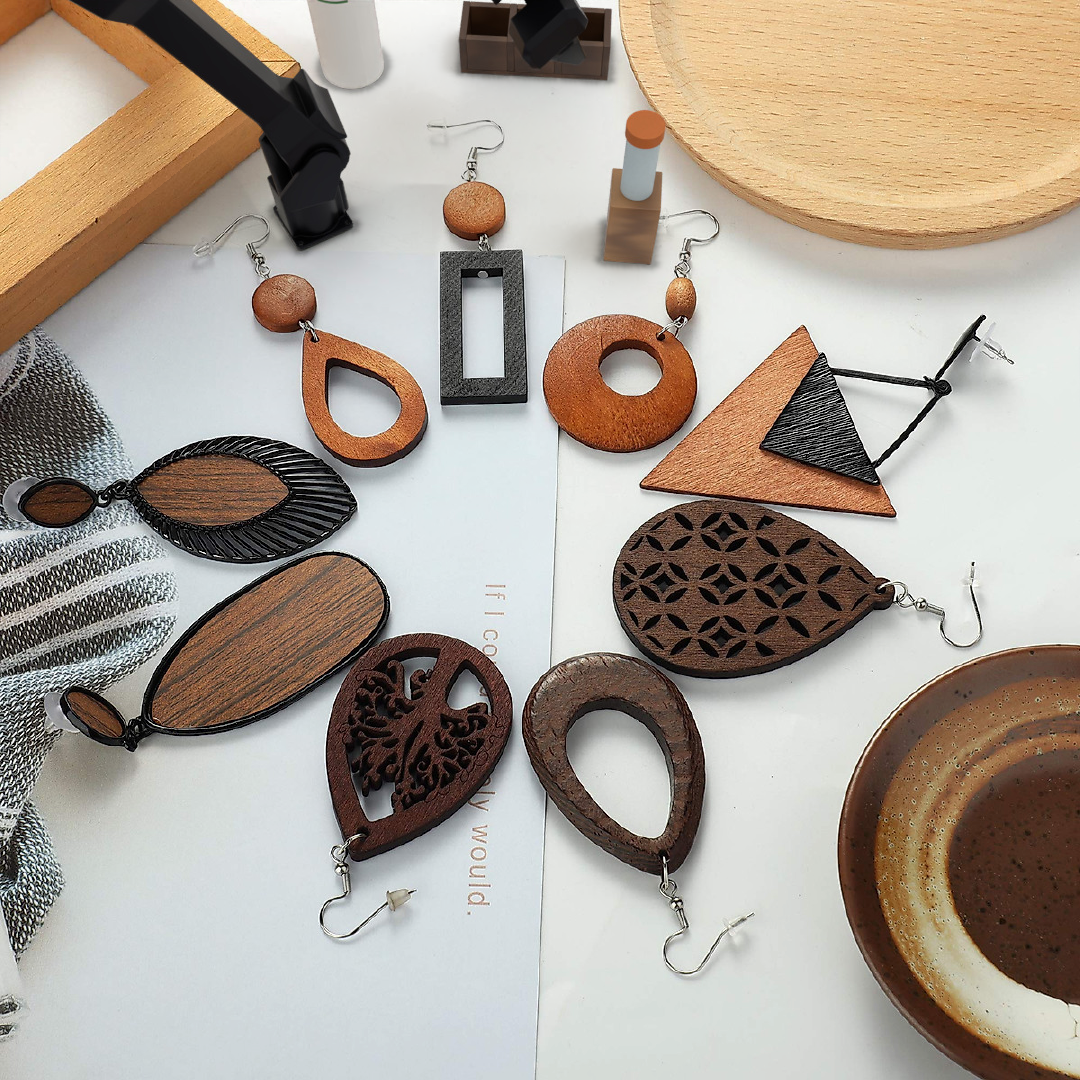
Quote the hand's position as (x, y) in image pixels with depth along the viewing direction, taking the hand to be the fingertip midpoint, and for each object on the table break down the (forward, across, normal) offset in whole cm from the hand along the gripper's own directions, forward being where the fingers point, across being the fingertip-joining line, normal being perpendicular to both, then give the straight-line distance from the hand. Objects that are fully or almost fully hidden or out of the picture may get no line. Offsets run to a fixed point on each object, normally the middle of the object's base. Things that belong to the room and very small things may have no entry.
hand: (563, 28), depth 94 cm
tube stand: (+14, -15, +7) cm, 21 cm away
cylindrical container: (+3, +20, +23) cm, 31 cm away
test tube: (+7, -15, +2) cm, 17 cm away
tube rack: (+14, +14, +6) cm, 21 cm away
